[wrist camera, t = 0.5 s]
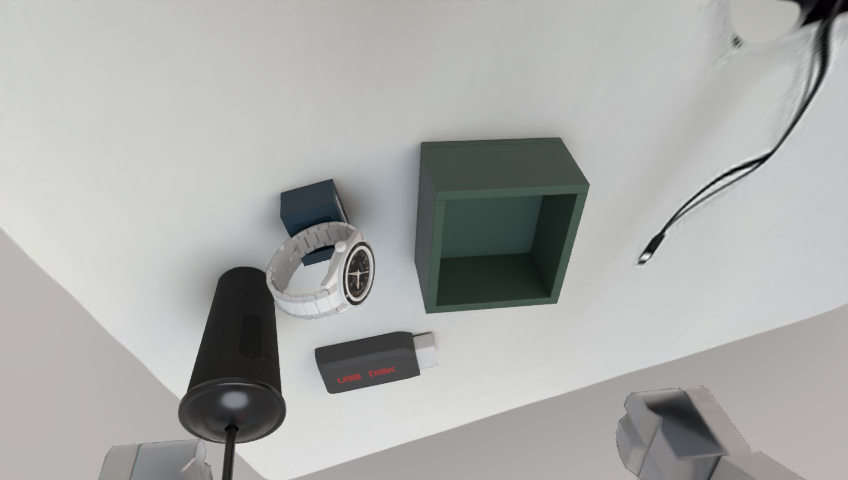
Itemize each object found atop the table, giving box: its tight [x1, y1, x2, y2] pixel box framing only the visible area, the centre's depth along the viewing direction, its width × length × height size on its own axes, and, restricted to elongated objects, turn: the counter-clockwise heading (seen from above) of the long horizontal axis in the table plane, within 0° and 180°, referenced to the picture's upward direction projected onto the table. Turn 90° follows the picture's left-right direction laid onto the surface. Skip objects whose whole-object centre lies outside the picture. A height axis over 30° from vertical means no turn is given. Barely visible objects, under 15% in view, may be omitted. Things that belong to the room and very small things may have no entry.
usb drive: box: [315, 332, 438, 394], centre depth 63 cm, size 5×12×3 cm, turn 97°
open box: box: [415, 138, 590, 314], centre depth 51 cm, size 13×12×7 cm
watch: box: [266, 179, 375, 319], centre depth 47 cm, size 6×8×11 cm
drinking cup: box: [178, 267, 286, 480], centre depth 48 cm, size 8×8×20 cm
